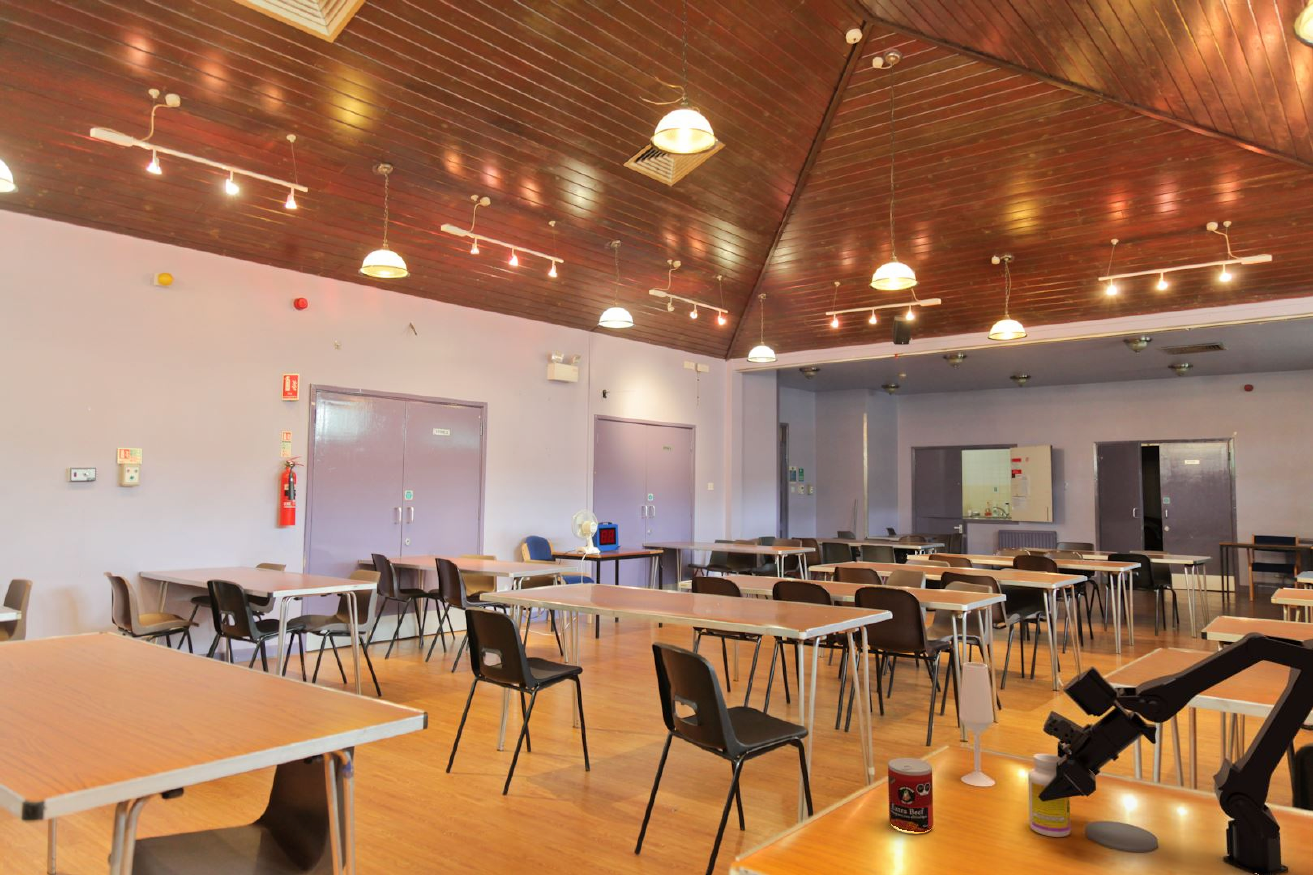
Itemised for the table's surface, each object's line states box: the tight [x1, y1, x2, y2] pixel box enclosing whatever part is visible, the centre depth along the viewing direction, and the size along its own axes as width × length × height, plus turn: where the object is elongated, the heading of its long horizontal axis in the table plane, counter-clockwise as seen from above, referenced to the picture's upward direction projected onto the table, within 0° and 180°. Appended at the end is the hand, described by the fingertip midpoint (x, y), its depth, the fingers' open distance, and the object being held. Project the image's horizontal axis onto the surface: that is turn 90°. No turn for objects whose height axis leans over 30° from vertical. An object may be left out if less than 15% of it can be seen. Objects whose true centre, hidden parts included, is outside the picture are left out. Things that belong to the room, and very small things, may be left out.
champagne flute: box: [959, 661, 996, 787], centre depth 173 cm, size 7×7×24 cm
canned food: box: [887, 757, 934, 832], centre depth 149 cm, size 8×8×11 cm
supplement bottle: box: [1027, 753, 1071, 838], centre depth 148 cm, size 7×7×13 cm
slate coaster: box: [1085, 820, 1159, 853], centre depth 144 cm, size 11×11×1 cm
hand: (1041, 790), depth 148 cm, fingers open, 9 cm apart
